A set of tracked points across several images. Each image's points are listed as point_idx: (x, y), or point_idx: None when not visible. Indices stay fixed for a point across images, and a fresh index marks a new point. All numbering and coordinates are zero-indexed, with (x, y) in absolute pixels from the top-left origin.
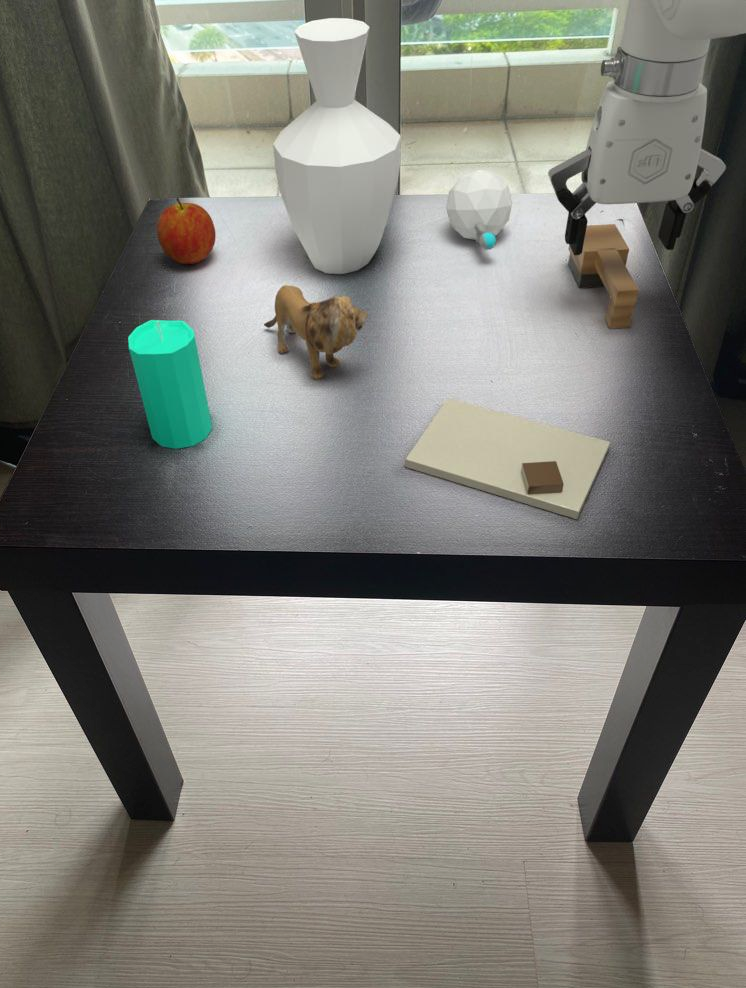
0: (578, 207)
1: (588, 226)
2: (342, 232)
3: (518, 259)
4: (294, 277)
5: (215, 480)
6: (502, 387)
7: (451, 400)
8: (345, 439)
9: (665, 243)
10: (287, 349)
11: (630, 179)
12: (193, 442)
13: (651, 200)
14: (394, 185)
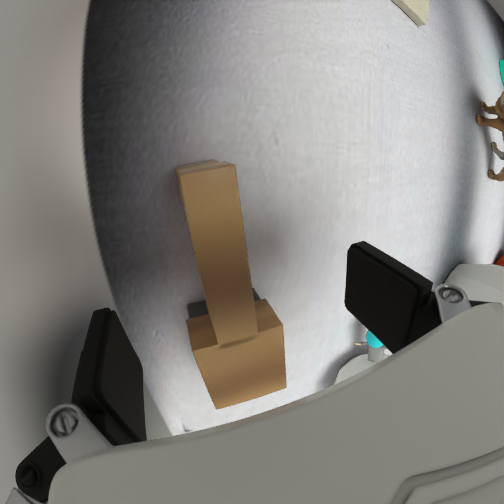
0: (466, 303)
1: (260, 394)
2: (499, 270)
3: (322, 338)
4: (475, 253)
5: (488, 26)
6: (377, 32)
7: (422, 19)
8: (460, 24)
9: (118, 327)
10: (493, 144)
11: (501, 431)
12: (502, 59)
13: (268, 419)
14: None
